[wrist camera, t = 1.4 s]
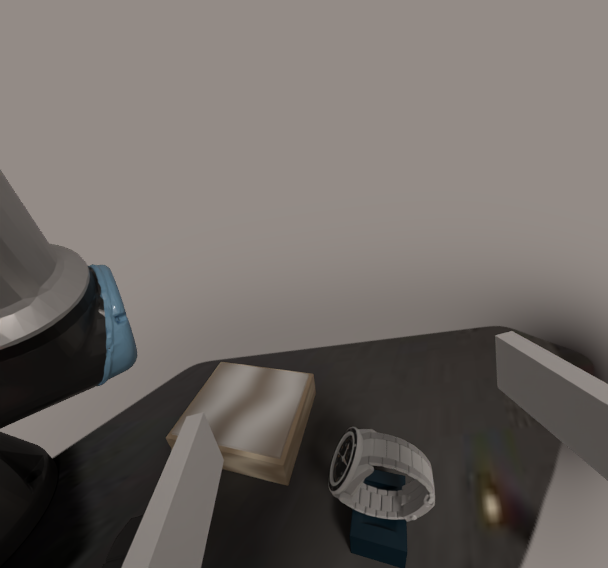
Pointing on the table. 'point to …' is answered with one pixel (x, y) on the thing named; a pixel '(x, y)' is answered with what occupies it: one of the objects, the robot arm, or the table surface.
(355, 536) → the watch
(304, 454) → the table surface
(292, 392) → the plate
